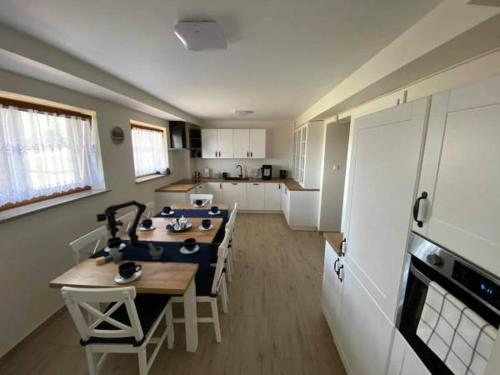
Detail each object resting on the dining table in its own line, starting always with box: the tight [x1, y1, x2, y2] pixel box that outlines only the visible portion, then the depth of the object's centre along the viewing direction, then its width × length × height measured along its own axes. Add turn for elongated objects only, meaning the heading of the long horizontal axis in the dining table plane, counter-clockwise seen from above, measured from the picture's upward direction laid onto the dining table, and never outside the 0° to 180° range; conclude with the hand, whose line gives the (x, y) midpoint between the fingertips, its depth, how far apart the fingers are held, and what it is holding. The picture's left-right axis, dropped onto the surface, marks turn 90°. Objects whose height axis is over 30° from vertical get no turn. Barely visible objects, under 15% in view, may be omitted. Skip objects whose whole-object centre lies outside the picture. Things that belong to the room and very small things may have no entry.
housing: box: [108, 247, 122, 264], centre depth 169 cm, size 5×16×6 cm, turn 43°
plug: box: [94, 252, 124, 266], centre depth 167 cm, size 19×4×4 cm, turn 133°
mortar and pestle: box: [148, 242, 164, 260], centre depth 171 cm, size 11×9×12 cm
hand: (113, 236), depth 182 cm, fingers open, 9 cm apart
